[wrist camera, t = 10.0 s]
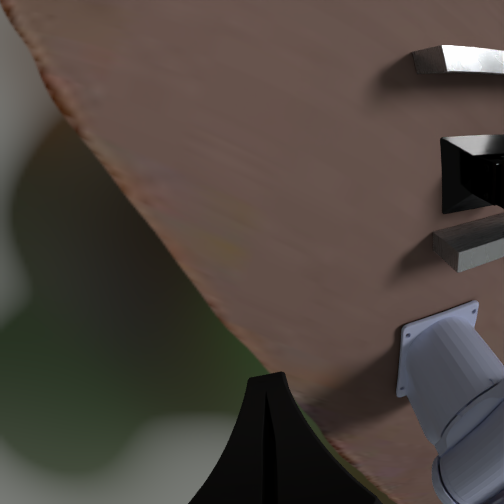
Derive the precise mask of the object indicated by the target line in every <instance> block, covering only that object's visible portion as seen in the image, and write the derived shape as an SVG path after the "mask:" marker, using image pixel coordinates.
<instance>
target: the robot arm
mask: <svg viewBox="0 0 504 504" xmlns="http://www.w3.org/2000/svg"><path fill="white" fill-rule="evenodd" d="M478 307H479V303H478V302H477V301H476V300H473V301H471V302H468V303H466V304H463V305H460V306H458V307H455V308H452V309H450V310H447V311H444V312H441V313H438V314H436V315H433V316H430V317H427V318H424V319H421V320H418V321H415V322H412V323H409V324H406V325H404V326H403V328H402V330H401V345H400V359H399V370H398V380H397V389H396V395H397V397H403V396H406V395H407V397H408V399H409V401H410V404H411V406H412V408H413V410H414V412H415V414H416V416H417V419H418V421H419V423H420V425H421V427H422V430H423V432H424V434H425V436H426V438H427V439H428V440H429V441H430V442H431V443H432V444H433V445H435V447H436V450H437V452H438V454H439V455H438V456H437V457H436V458H435V459H434V461H433V464H432V483H433V487H434V490H435V492H436V494H437V496H438V497H439V499H440V500H441V502H442V503H443V504H504V365H503V364H502V363H501V361H500V360H499V359H498V358H497V356H496V355H495V354H494V353H493V351H492V350H491V349H490V348H489V346H488V345H487V344H486V343H485V341H484V340H483V339H482V338H481V336H480V335H479V334H478V333H477V332H476V330H475V329H474V327H475V322H476V317H477V312H478ZM406 334H407V335H406ZM188 504H382V503H381V501H380V500H379V499H378V498H377V496H376V495H374V494H373V493H372V492H371V491H369V490H368V489H367V488H366V487H364V486H363V485H362V484H361V483H360V482H358V481H357V480H356V479H355V478H354V477H353V476H352V475H351V474H350V473H349V472H348V471H347V470H346V469H345V468H344V467H343V466H342V465H341V464H340V463H339V462H338V461H337V460H336V459H335V458H334V457H333V456H332V454H331V453H330V452H329V451H328V450H327V449H326V447H325V446H324V445H323V444H322V443H321V441H320V440H319V439H318V437H317V436H316V435H315V433H314V432H313V430H312V429H311V427H310V426H309V425H308V423H307V421H306V420H305V418H304V417H303V415H302V413H301V411H300V409H299V408H298V406H297V404H296V402H295V400H294V398H293V396H292V394H291V392H290V389H289V387H288V383H287V379H286V375H285V373H284V372H282V371H281V372H277V373H272V374H267V375H262V376H256V377H251V378H249V379H248V383H247V387H246V392H245V396H244V400H243V403H242V406H241V409H240V412H239V415H238V418H237V421H236V424H235V426H234V429H233V431H232V434H231V436H230V438H229V441H228V443H227V445H226V447H225V449H224V451H223V453H222V455H221V457H220V459H219V461H218V462H217V464H216V466H215V467H214V469H213V471H212V472H211V474H210V475H209V477H208V479H207V480H206V481H205V483H204V484H203V486H202V487H201V488H200V489H199V491H198V492H197V493H196V495H195V496H194V497H193V498H192V500H191V501H190V502H189V503H188Z"/></svg>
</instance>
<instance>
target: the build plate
mask: <svg viewBox="0 0 504 504" xmlns="http://www.w3.org/2000/svg"><path fill="white" fill-rule="evenodd" d="M440 145H441V163H442V213H443V214H447V213H453V212H458V211H464V210H469V209H474V208H480V207H485V206H491V205H494V206H495V205H498V206H500V207H502V208H503V209H504V135H476V136H457V137H442V138H441V139H440Z"/></svg>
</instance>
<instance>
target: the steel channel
mask: <svg viewBox="0 0 504 504" xmlns="http://www.w3.org/2000/svg"><path fill="white" fill-rule="evenodd" d="M412 53H413V57H414V62H415V66H416V71H417V74H431V73H464V74H489V75H504V51H499V50H492V49H484V48H474V47H463V46H448V45H441V46H436V47H431V48H427V49H422V50H418V51H414V52H412ZM433 251H434V252H435V253H436V254H437V255H438V256H440V257H441V258H442V259H443V260H444V261H445V262H446V263H447V264H448V265H450V266H451V267H452V268H453V269H454V270H455V271H456V272H457V273H458V272H461V271H464V270H467V269H470V268H473V267H476V266H479V265H482V264H485V263H487V262H490V261H493V260H496V259H499V258H501V257H504V213H501V214H498V215H494V216H490V217H487V218H483V219H479V220H476V221H472V222H468V223H465V224H461V225H457V226H453V227H450V228H446V229H442V230H438V231H434V232H433Z"/></svg>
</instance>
